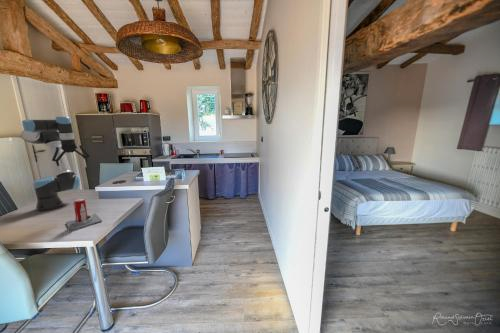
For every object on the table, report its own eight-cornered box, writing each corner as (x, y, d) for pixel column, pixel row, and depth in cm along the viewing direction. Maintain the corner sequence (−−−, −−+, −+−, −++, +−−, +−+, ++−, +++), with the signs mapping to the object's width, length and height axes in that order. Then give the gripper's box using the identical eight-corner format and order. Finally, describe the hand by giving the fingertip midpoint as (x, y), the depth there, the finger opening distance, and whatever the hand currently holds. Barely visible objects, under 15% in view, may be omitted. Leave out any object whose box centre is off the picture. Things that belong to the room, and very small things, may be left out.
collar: (72, 221, 133) (71, 219, 133) (91, 216, 141) (91, 213, 140) (75, 226, 126) (74, 224, 126) (95, 220, 134) (95, 218, 133)
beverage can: (77, 220, 134) (72, 199, 130) (89, 218, 137) (85, 197, 134) (76, 224, 129) (70, 202, 126) (88, 221, 132) (84, 200, 129)
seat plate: (66, 223, 133) (65, 222, 133) (95, 214, 145) (95, 213, 144) (70, 231, 123) (70, 230, 122) (101, 221, 134) (101, 220, 134)
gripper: (42, 141, 131) (50, 172, 135) (90, 138, 148) (95, 166, 153) (42, 140, 136) (49, 171, 140) (88, 137, 153) (93, 165, 158)
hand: (73, 168), depth 147 cm, fingers open, 13 cm apart
